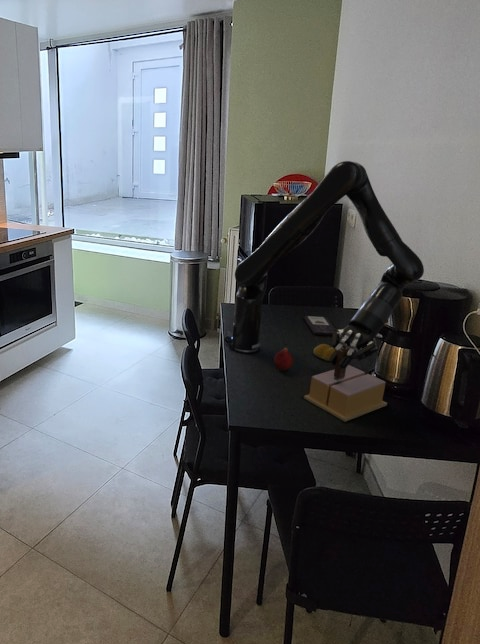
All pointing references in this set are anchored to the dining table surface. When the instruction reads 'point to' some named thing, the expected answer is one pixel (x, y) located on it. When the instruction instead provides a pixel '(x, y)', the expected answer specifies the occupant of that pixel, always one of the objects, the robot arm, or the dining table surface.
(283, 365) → the onion
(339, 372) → the cake knife
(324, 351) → the bread roll
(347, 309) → the dining table surface
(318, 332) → the chocolate bar
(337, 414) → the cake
